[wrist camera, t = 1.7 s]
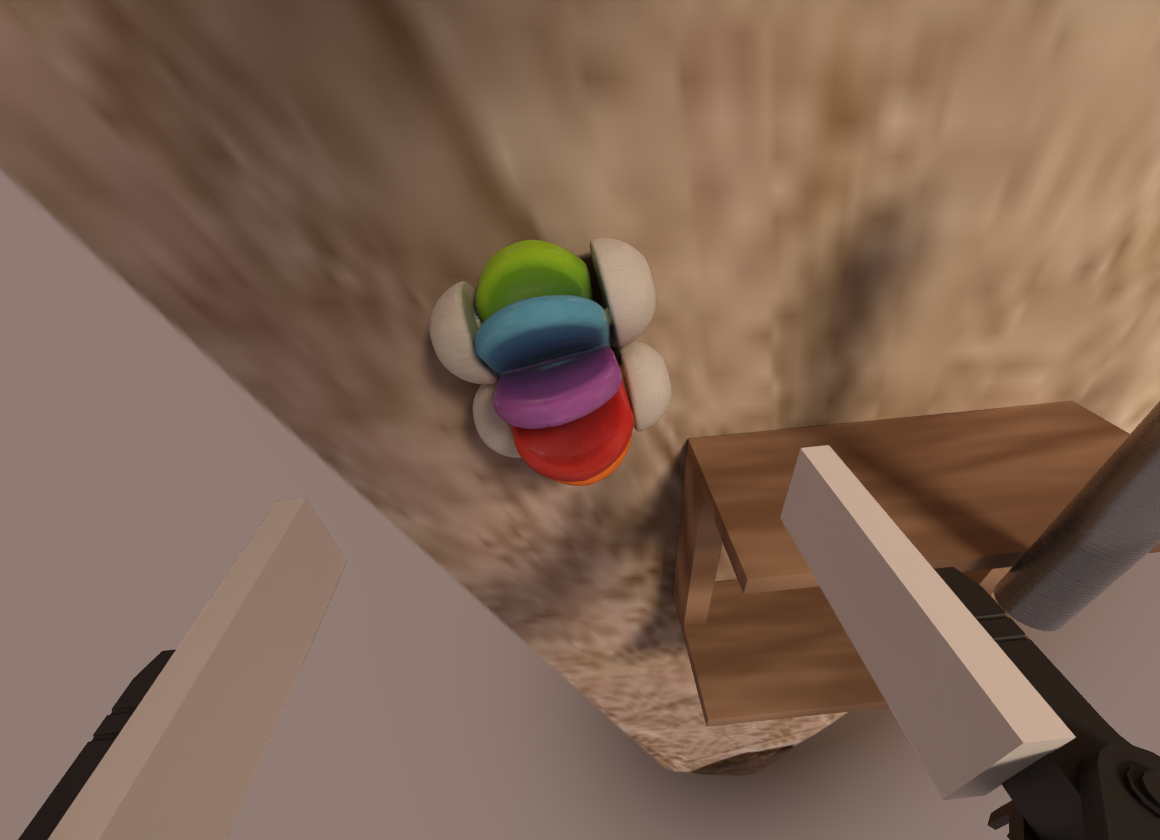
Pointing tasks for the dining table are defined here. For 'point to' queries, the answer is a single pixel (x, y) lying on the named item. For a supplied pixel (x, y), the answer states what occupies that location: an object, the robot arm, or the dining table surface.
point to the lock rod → (1091, 536)
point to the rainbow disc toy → (556, 355)
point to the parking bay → (910, 498)
